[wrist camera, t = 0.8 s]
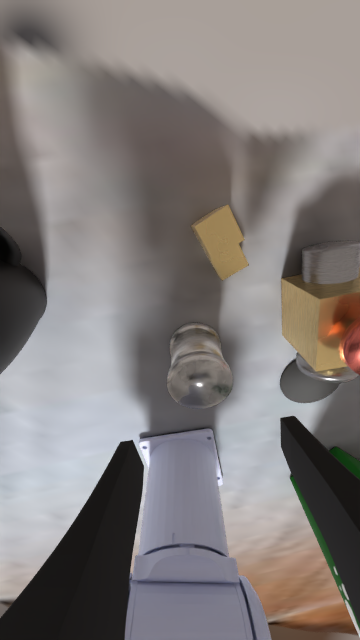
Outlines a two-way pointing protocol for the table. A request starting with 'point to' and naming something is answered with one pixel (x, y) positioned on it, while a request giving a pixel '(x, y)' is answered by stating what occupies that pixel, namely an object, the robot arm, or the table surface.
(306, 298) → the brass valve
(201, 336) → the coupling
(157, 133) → the table surface
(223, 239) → the elbow
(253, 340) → the table surface
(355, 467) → the milk carton
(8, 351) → the mug
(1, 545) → the table surface
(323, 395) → the pad
